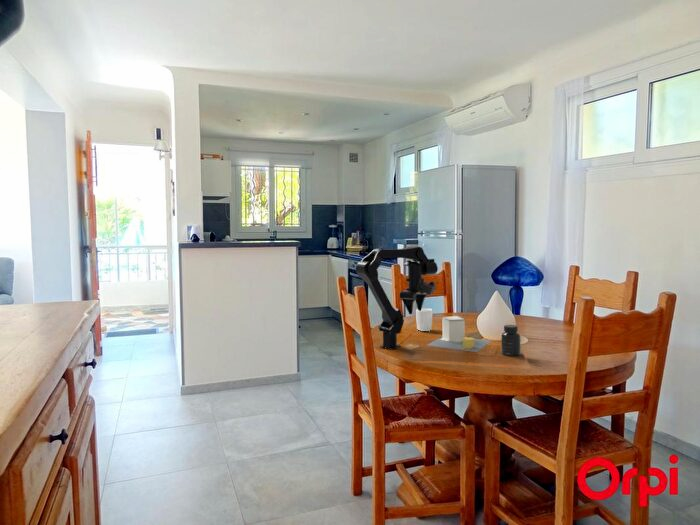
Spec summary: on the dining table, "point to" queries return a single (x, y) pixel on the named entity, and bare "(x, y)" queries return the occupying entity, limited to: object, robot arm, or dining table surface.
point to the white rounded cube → (453, 328)
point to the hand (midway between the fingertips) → (415, 312)
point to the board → (461, 344)
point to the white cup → (424, 319)
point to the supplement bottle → (510, 341)
